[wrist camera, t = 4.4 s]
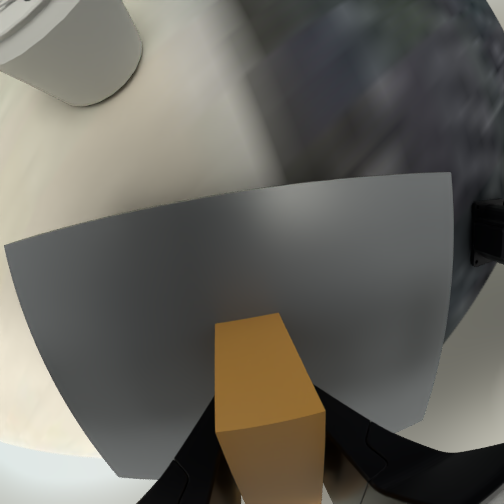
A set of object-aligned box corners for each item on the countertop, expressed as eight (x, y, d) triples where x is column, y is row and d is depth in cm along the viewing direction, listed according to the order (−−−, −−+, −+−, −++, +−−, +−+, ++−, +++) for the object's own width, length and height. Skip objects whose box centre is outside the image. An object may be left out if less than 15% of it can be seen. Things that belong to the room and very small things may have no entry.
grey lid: (434, 172, 9) (546, 177, 4) (414, 409, 12) (463, 471, 7) (18, 240, 8) (-84, 281, 3) (122, 464, 11) (104, 541, 6)
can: (150, 88, 17) (82, -8, 5) (60, 124, 16) (-53, 88, 4) (141, 14, 15) (96, -86, 3) (58, 48, 14) (-23, -13, 3)
